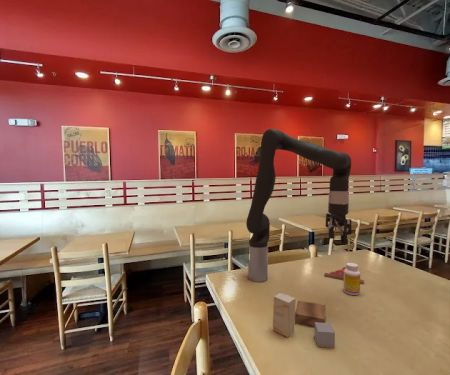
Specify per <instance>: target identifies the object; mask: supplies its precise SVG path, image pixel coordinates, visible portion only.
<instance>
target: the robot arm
mask: <svg viewBox="0 0 450 375" xmlns="http://www.w3.org/2000/svg"><path fill="white" fill-rule="evenodd" d="M260 141H261V143H260V144H261V145H260V154H259V161H258V167H257V174H256V177H255V183H254V189H253V195H252V198H251V205H250V209H249V212H248V215H247V218H246V229H247V230H248V232H249V233H250V234H252V236H251V237H250V239H249V242H248V243H249V244H248V245H249V247H248V248H249V249H248V250H249V252H248V253H249V255H248V256H249V260H248V261H247V263H248V265H247V267H248V268H247V273H248V274H247V276H248V278H247V279H248V280H251V281H253V282H256V283H257V282H258V283H259V282H260V283H262V282H263V283H264V282H266V281H268V277H269V276H268V274H269V273H268V270H269V269H268V268H269V267H268V262H269V261H268V258H269V257H268V252H269V250H268V244H269V240H270V229H271V228H270V227H271V226H270V218H269V217H268V215H266V214H265V213H264V212H265V211H264V210H265V207H266V206H267V203H268V202H269V200H270V198H271V197H272V195H273V192H274V189H275V185H276V180H277V179H276V178H277V177H276V170H275V163H274V162H275V155H276V151H277V150H279V151H280V150H281V151H287V152H291V153H293V154H296V155H297V156H300V157H302V158H304V159H306V160H308V161H311V162H314V163H317V164H321V165H322V166H324V167H327V168H329V169H332V175H331V177H330V179H329V192H328V203H327V204H328V207H327V210H328V211H327V212H328V213H326V214H325V224H324V225H325V227H326V228H327V230H328V239H330V240H331V239H335V228H337V230H339V232H340V244H341V245H342V246H343V245H347V244H348V236H349V235H352V219H351V218H347V216H346V215H348V214H349V206H350V205H349V203H350V199H349V198H350V197H349V196H350V195H349V188H350V187H349V185H350V184H349V178H350V175H351V170H352V169H351V168H352V158H351V156H350V155H349V154H348V153H346V152H341V151H336V150H332V149H328V148H327V147H325V146H322V145H319V144H316V143H313V142H309V141H305V140H300V139H298V138H295V137H293V136H291V135H288V134H287V133H285V132H284V131H282V130H280V129H274V128H267V129H266V130H265V131H264V133H263V134H262V137H261V140H260Z"/></svg>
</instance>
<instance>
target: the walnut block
mask: <svg viewBox="0 0 450 375" xmlns="http://www.w3.org/2000/svg"><path fill="white" fill-rule="evenodd" d="M325 309H326V306H325V304H321V303H315V302H307V301H305V300H304V301H303V300H297V303H296V306H295V322H294V324H296V325H301V326H306V327H311V328H315V322H319V323H326V322H325V321H326V316H325V315H326V310H325Z"/></svg>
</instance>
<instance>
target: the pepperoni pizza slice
mask: <svg viewBox="0 0 450 375" xmlns="http://www.w3.org/2000/svg"><path fill="white" fill-rule="evenodd" d="M346 268H347V267H346V266H345V267H342V268H341V269H340V268H339V269H337V270H335V271H331V272H330V273H329V272H324V274H323V276H324V277H325V278H329V279H330V278H331V279H333V280H338V281H343V282H344V270H345V269H346ZM364 284H365V279H364V280H363V279H360V285H364Z"/></svg>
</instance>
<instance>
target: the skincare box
mask: <svg viewBox="0 0 450 375" xmlns="http://www.w3.org/2000/svg"><path fill="white" fill-rule="evenodd" d="M295 312H296V297H293V296H292V295H291V296H290V295H288V294H286V293H283V292H279V293H277V294H275V295H273V315H272V316H273V317H272V319H273V320H272V330H273V331H275V332H277V333H279V334H280V335H282V336H284V337H287V338H289V337H290V336H291V335H292V334H294V333H295Z"/></svg>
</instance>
